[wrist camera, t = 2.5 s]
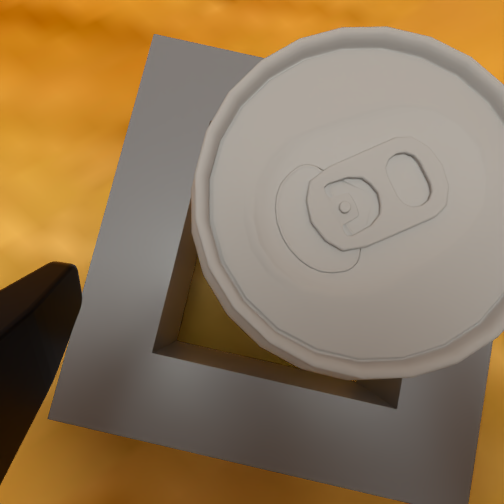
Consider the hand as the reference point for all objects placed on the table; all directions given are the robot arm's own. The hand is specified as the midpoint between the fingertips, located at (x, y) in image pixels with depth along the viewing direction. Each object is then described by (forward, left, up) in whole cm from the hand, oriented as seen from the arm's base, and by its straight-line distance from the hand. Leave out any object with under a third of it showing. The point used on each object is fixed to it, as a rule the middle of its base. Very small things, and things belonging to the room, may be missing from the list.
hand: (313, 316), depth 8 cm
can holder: (+1, -1, -9) cm, 9 cm away
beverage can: (+1, -1, -9) cm, 9 cm away
